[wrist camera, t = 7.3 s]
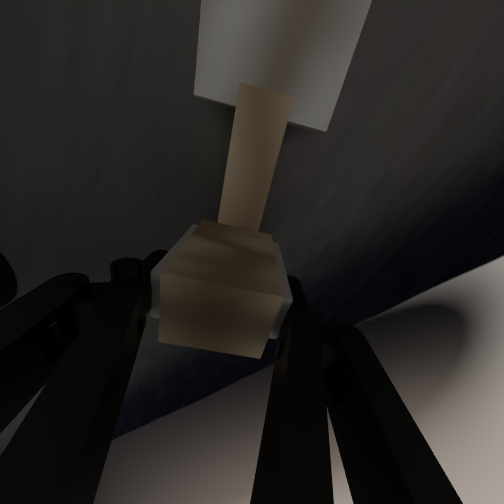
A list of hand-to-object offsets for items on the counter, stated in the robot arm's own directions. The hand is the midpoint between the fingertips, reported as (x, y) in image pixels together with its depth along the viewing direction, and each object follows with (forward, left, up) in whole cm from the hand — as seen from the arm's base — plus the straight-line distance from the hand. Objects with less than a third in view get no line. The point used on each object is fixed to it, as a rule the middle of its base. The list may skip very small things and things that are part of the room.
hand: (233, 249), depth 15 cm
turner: (0, +3, -1) cm, 4 cm away
